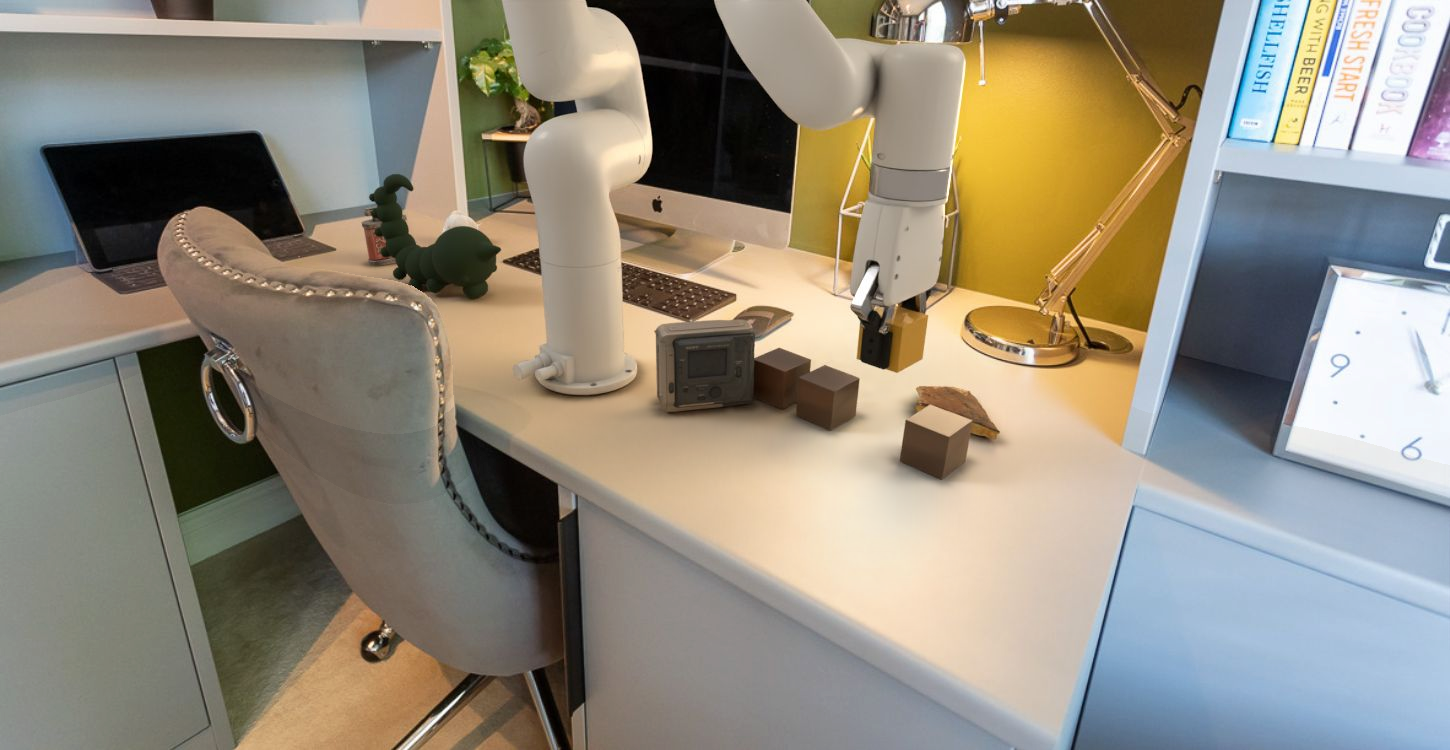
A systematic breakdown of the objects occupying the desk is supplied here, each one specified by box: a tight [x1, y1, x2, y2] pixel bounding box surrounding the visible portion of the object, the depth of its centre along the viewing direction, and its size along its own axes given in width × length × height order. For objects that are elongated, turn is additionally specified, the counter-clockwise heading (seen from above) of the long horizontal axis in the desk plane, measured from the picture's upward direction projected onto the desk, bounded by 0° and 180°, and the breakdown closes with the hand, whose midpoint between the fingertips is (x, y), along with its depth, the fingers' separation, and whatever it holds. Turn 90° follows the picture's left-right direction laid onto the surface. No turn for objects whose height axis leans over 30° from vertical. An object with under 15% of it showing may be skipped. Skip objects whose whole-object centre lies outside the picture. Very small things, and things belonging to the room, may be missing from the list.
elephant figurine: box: [441, 209, 484, 234], centre depth 150 cm, size 7×8×6 cm
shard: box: [915, 385, 1001, 440], centre depth 91 cm, size 11×8×2 cm
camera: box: [653, 319, 756, 413], centre depth 91 cm, size 11×6×10 cm, turn 102°
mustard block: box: [856, 305, 929, 374], centre depth 82 cm, size 5×5×5 cm
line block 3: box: [899, 405, 973, 480], centre depth 82 cm, size 5×5×5 cm
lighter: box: [361, 205, 408, 267], centre depth 138 cm, size 8×3×10 cm, turn 144°
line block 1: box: [753, 347, 812, 411], centre depth 94 cm, size 5×5×5 cm
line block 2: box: [795, 364, 861, 431], centre depth 90 cm, size 5×5×5 cm
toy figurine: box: [368, 173, 502, 300], centre depth 123 cm, size 9×19×25 cm
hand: (889, 355), depth 83 cm, fingers closed on mustard block, 5 cm apart
